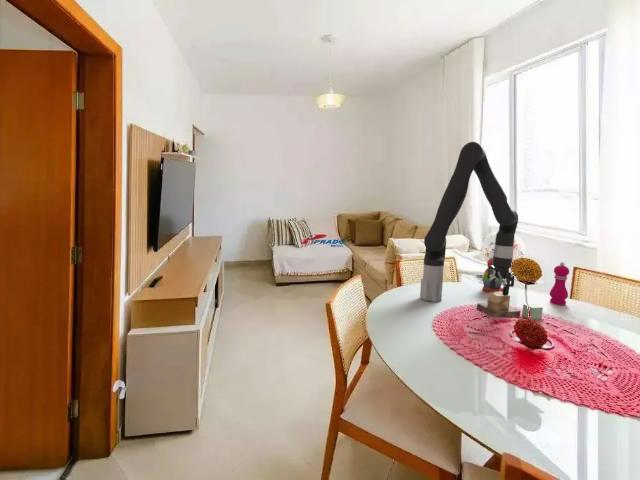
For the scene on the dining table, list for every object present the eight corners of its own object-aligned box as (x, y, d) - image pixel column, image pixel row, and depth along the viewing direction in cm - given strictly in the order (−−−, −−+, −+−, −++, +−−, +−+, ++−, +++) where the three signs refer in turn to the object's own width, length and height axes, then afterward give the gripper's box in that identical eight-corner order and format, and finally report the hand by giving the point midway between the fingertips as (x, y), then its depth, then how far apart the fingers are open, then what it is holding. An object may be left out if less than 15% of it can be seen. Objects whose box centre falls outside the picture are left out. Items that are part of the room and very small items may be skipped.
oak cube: (496, 309, 149) (497, 296, 148) (487, 305, 155) (488, 292, 154) (508, 309, 150) (510, 295, 149) (499, 304, 156) (500, 291, 155)
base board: (494, 316, 146) (494, 312, 146) (477, 307, 158) (477, 303, 157) (519, 315, 148) (520, 311, 148) (500, 306, 160) (501, 302, 159)
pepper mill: (565, 302, 168) (570, 261, 165) (568, 306, 161) (573, 264, 158) (547, 300, 171) (552, 260, 168) (550, 304, 164) (554, 262, 161)
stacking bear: (502, 295, 178) (505, 261, 176) (480, 291, 183) (483, 258, 181) (503, 290, 187) (506, 257, 185) (483, 287, 192) (486, 255, 190)
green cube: (530, 319, 144) (532, 307, 143) (522, 315, 149) (523, 304, 148) (541, 319, 145) (542, 307, 144) (532, 314, 149) (533, 303, 149)
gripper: (484, 252, 155) (480, 287, 158) (506, 259, 142) (501, 297, 144) (499, 252, 157) (495, 287, 159) (522, 259, 143) (517, 297, 145)
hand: (498, 292), depth 152 cm, fingers open, 8 cm apart
